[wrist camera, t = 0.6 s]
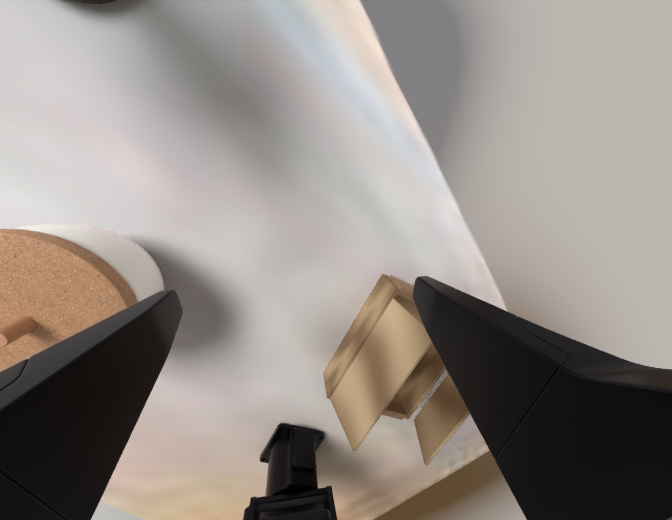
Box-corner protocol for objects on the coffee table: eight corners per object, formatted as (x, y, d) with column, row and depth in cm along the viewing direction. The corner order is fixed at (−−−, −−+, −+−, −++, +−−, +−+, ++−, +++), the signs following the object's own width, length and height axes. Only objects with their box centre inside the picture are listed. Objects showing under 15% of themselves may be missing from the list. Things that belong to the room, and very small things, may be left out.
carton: (396, 396, 32) (407, 421, 28) (322, 374, 29) (325, 400, 25) (459, 307, 29) (480, 323, 25) (384, 271, 25) (397, 285, 22)
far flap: (414, 419, 28) (416, 421, 28) (424, 464, 23) (427, 465, 23) (477, 335, 25) (480, 336, 25) (505, 365, 20) (508, 366, 20)
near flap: (356, 450, 20) (353, 451, 20) (332, 398, 24) (329, 398, 24) (436, 337, 18) (434, 336, 18) (394, 299, 22) (392, 298, 22)
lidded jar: (131, 343, 23) (33, 442, 15) (13, 267, 20) (-212, 339, 11) (211, 277, 23) (158, 340, 14) (104, 183, 19) (-61, 189, 10)
